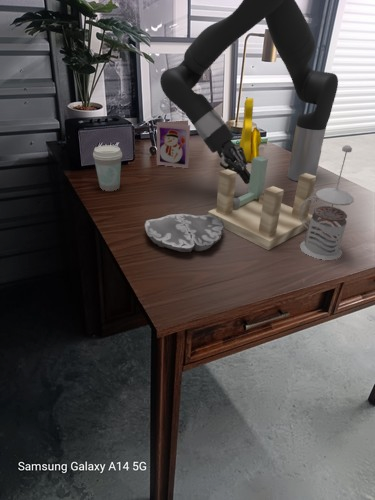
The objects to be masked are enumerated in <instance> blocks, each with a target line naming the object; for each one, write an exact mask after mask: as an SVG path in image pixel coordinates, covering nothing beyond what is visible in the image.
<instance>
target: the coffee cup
mask: <svg viewBox="0 0 375 500" xmlns="http://www.w3.org/2000/svg"><path fill="white" fill-rule="evenodd" d="M92 157H93V159H94V160H93V161H94V164H95V170H96V174H97V178H98V179H97V180H98V184H99V188H101V189H102V190H101V189H100V190H101V191H104V190H105V191H104V192H114V190H115V191H117V189H118V190H119V189H120V184H121V169H122V168H121V167H122V157H123V152H122V151H121V148H120V147H119V146H116V145H100V146H96V147H94V149H93V153H92Z"/></svg>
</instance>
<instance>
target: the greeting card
mask: <svg viewBox="0 0 375 500" xmlns="http://www.w3.org/2000/svg"><path fill="white" fill-rule="evenodd" d="M190 135H191V124H190V125H189V120H188V119H187V120H171V121H157V122H156V166H158V165H165V166H164V167H167V166H173V167H172V168H176V167H182V168H181V169H184V168H188V169H189V160H190V159H189V158H190V138H191V137H190Z"/></svg>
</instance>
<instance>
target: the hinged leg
mask: <svg viewBox="0 0 375 500" xmlns="http://www.w3.org/2000/svg"><path fill="white" fill-rule="evenodd" d="M268 160H269V158H266V157H262V156H260V155H259V156H258V157H255V158H253V159H252V162H251V167H250V181H249V183H248V190H247V193H245V194H243V195H241V196H239V197H234V201H233V209H238V208H239V207H240V206H242V205H244V204H246V203H248V202H250V201H252V200H254V199H258V198H259V196H260V195H263V194H264V192H263V191H264V187H265V180H266V174H267V168H268Z"/></svg>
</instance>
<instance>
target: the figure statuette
mask: <svg viewBox="0 0 375 500" xmlns="http://www.w3.org/2000/svg"><path fill="white" fill-rule="evenodd" d="M243 108H244V109H243V111H244V112H243V120H242V122H243V123H242V124H243V125H242V129H241V130H242V131H241V135H240V139H239V148H240V147H242V149H243V151H244V154H245V158H246V161H247V162H250V163H252V159H253V158H255V157H258V156H259V157H260V150H259V149H260V145H261V142H262V137H261V132H260V130H259V129H258V128H257V127H254V128H253V115H254V98H251V97H249V98H248V97H246V99H245V101H244V107H243Z"/></svg>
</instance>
